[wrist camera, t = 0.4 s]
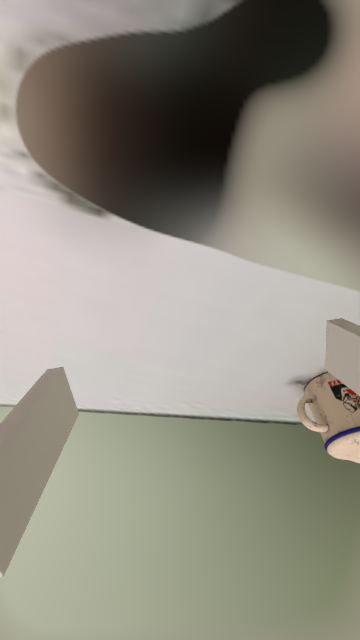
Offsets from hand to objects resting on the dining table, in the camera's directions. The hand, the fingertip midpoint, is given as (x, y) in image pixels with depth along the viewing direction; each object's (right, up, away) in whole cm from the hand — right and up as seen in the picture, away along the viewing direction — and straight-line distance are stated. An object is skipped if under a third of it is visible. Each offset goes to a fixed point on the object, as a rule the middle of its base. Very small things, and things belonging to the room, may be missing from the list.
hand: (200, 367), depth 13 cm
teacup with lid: (+21, -7, +27) cm, 35 cm away
